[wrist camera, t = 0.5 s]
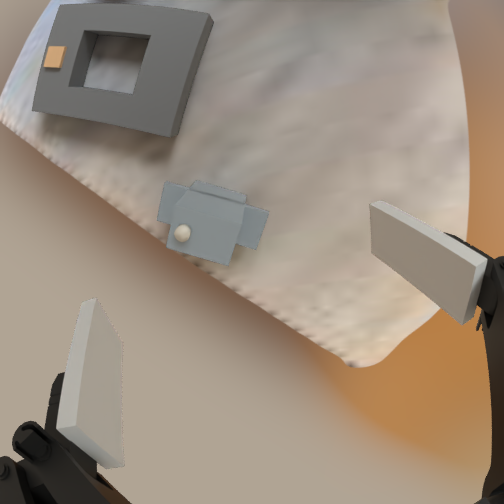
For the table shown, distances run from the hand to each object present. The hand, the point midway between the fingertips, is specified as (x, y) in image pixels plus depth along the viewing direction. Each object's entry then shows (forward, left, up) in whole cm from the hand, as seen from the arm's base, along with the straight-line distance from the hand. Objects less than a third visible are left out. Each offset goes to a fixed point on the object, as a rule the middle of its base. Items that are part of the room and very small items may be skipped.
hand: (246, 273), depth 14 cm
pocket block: (+11, -21, -29) cm, 37 cm away
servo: (+7, +3, -29) cm, 30 cm away
